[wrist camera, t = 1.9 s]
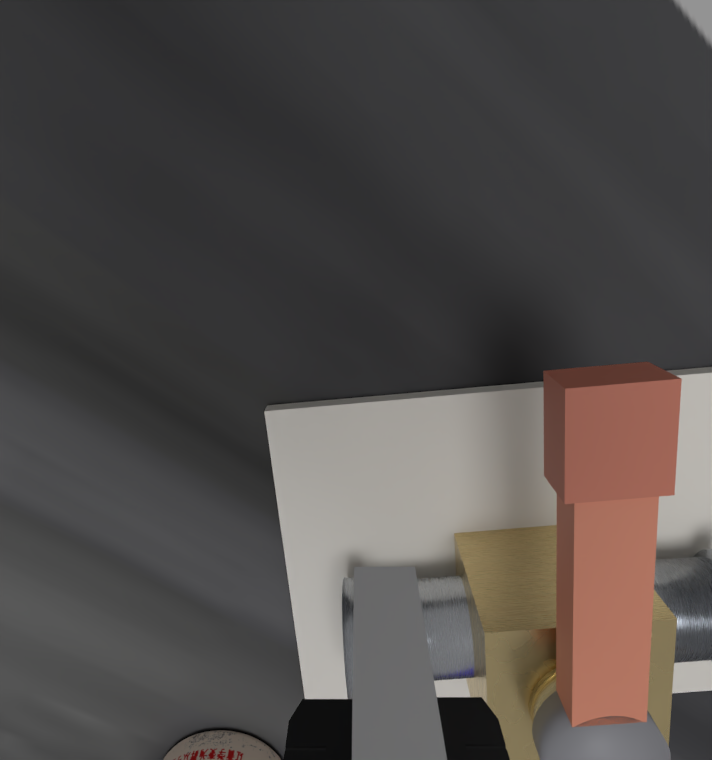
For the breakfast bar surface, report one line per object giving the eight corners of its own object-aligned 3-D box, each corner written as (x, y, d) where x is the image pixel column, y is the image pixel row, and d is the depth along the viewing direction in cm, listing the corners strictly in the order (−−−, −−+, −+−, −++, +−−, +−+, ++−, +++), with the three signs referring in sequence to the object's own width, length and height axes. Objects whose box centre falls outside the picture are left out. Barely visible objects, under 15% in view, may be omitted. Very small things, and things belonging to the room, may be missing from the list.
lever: (526, 372, 20) (545, 390, 18) (664, 360, 20) (701, 377, 18) (531, 770, 25) (547, 822, 23) (643, 763, 25) (669, 813, 23)
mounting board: (267, 405, 31) (264, 411, 30) (777, 361, 30) (791, 365, 29) (309, 706, 36) (307, 719, 36) (743, 674, 36) (754, 687, 35)
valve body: (342, 542, 32) (337, 657, 24) (713, 512, 32) (844, 619, 23) (355, 661, 34) (354, 806, 26) (703, 635, 34) (819, 775, 25)
